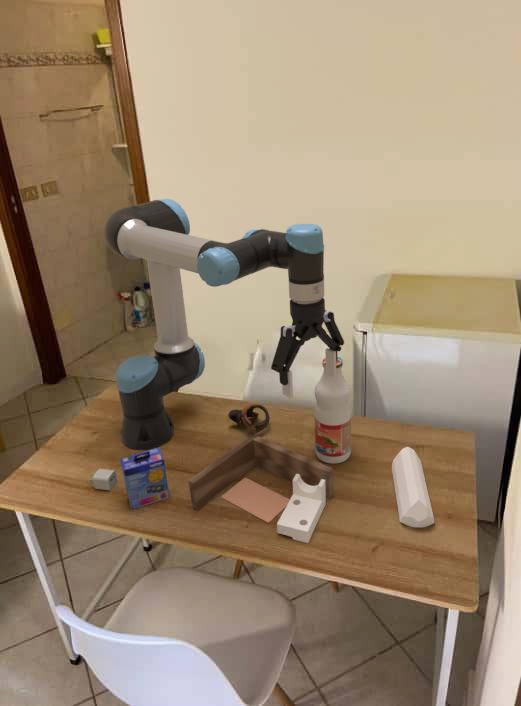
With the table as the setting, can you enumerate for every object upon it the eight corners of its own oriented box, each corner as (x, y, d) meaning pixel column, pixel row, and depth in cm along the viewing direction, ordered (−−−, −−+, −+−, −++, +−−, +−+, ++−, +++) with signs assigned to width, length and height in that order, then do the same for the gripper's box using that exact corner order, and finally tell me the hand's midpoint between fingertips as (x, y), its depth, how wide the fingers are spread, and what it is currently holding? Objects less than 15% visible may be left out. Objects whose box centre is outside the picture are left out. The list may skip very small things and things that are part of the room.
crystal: (383, 451, 141) (393, 517, 120) (409, 440, 139) (423, 505, 117) (397, 472, 144) (409, 540, 122) (423, 461, 141) (439, 529, 120)
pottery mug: (266, 416, 167) (272, 402, 161) (265, 444, 162) (270, 431, 155) (227, 410, 166) (231, 396, 160) (224, 438, 160) (228, 424, 154)
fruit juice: (357, 459, 145) (358, 364, 133) (324, 468, 142) (323, 372, 130) (340, 440, 153) (340, 349, 141) (309, 448, 151) (307, 356, 138)
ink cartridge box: (131, 511, 132) (121, 462, 126) (127, 497, 137) (116, 449, 131) (171, 498, 136) (163, 449, 129) (165, 485, 140) (157, 438, 134)
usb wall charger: (110, 491, 139) (107, 479, 138) (86, 489, 141) (82, 476, 139) (117, 481, 143) (115, 469, 141) (94, 479, 145) (90, 466, 143)
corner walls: (192, 507, 132) (188, 480, 129) (254, 459, 148) (252, 434, 144) (273, 554, 117) (271, 525, 114) (333, 495, 133) (333, 468, 129)
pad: (220, 497, 135) (220, 496, 135) (245, 478, 141) (245, 477, 141) (268, 523, 126) (268, 522, 126) (292, 501, 132) (292, 500, 132)
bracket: (297, 498, 133) (296, 473, 130) (325, 505, 130) (325, 479, 127) (277, 536, 122) (275, 509, 119) (308, 544, 120) (307, 517, 116)
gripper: (273, 319, 109) (279, 411, 118) (359, 287, 122) (359, 372, 132) (250, 310, 114) (257, 398, 123) (335, 280, 128) (336, 362, 137)
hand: (310, 385), depth 128 cm, fingers open, 13 cm apart
